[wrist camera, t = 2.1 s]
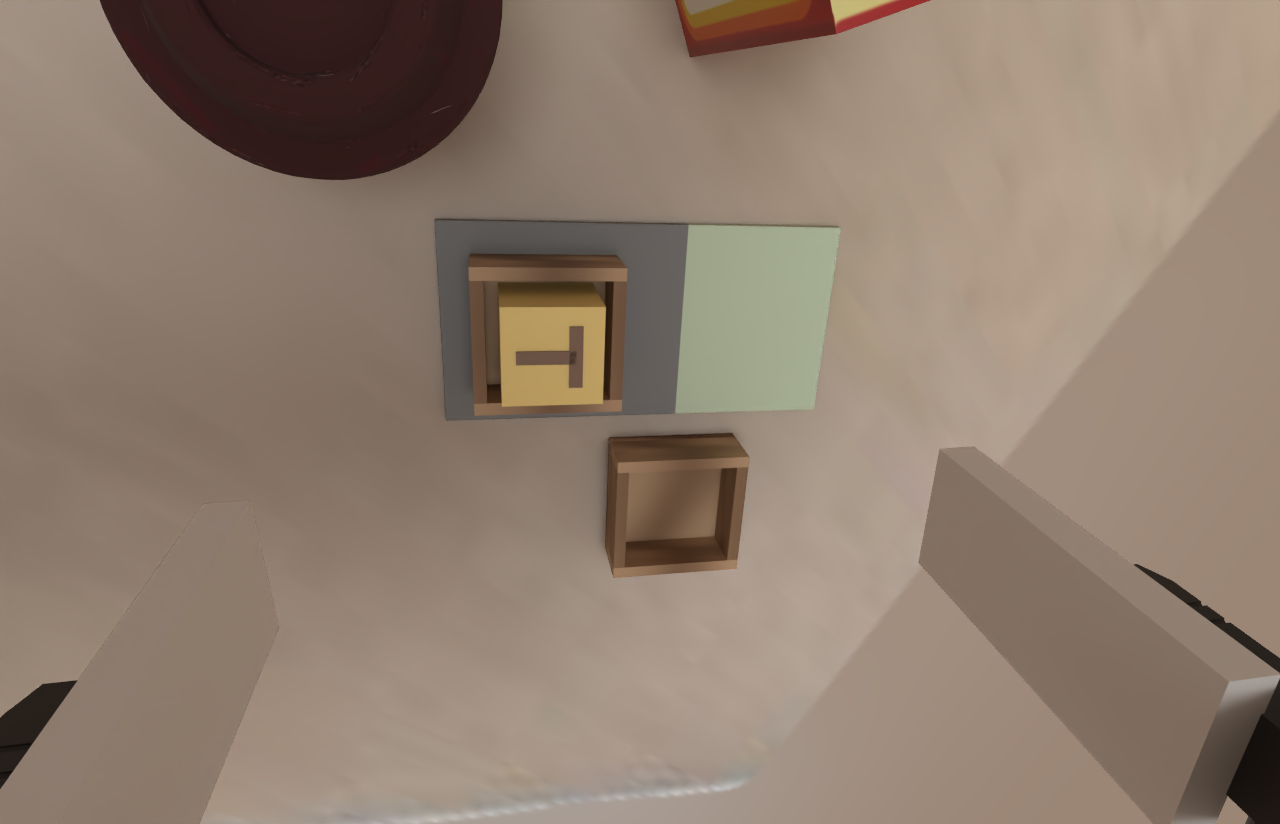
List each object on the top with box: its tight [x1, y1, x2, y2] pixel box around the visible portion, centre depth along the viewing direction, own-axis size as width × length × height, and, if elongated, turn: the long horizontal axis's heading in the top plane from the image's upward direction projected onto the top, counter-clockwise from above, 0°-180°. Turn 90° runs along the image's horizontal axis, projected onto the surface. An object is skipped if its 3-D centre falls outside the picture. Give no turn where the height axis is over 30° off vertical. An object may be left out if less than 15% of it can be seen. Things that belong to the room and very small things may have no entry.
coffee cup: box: [100, 0, 502, 180], centre depth 24 cm, size 10×10×15 cm
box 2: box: [605, 433, 749, 578], centre depth 41 cm, size 7×7×3 cm
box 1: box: [468, 254, 628, 416], centre depth 36 cm, size 7×7×3 cm
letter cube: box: [498, 282, 606, 407], centre depth 35 cm, size 4×4×5 cm
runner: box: [435, 219, 841, 421], centre depth 38 cm, size 20×10×1 cm, turn 87°
